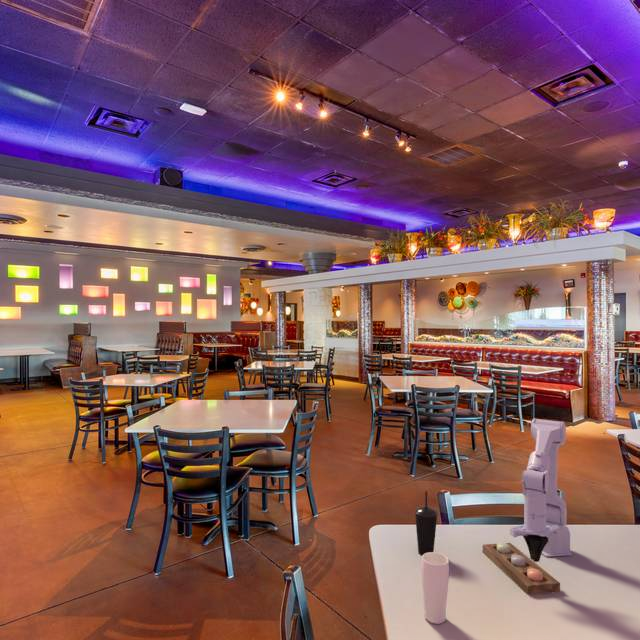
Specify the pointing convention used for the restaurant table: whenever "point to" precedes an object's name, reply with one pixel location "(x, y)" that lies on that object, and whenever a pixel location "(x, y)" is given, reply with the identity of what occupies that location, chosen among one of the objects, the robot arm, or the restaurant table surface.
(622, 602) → the restaurant table surface
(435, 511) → the drinking cup
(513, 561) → the grey button
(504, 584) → the restaurant table surface
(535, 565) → the panel
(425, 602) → the drinking glass
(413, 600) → the restaurant table surface
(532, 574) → the terracotta button
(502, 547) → the sage button
